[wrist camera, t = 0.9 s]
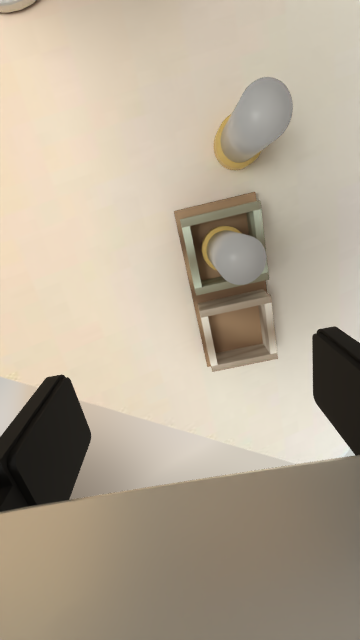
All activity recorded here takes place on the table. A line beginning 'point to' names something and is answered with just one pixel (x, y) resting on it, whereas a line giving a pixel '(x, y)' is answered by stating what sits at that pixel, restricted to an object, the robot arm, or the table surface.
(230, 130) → the grey rounded cylinder
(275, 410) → the table surface
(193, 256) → the socket board
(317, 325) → the table surface
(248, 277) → the seated sleeve
